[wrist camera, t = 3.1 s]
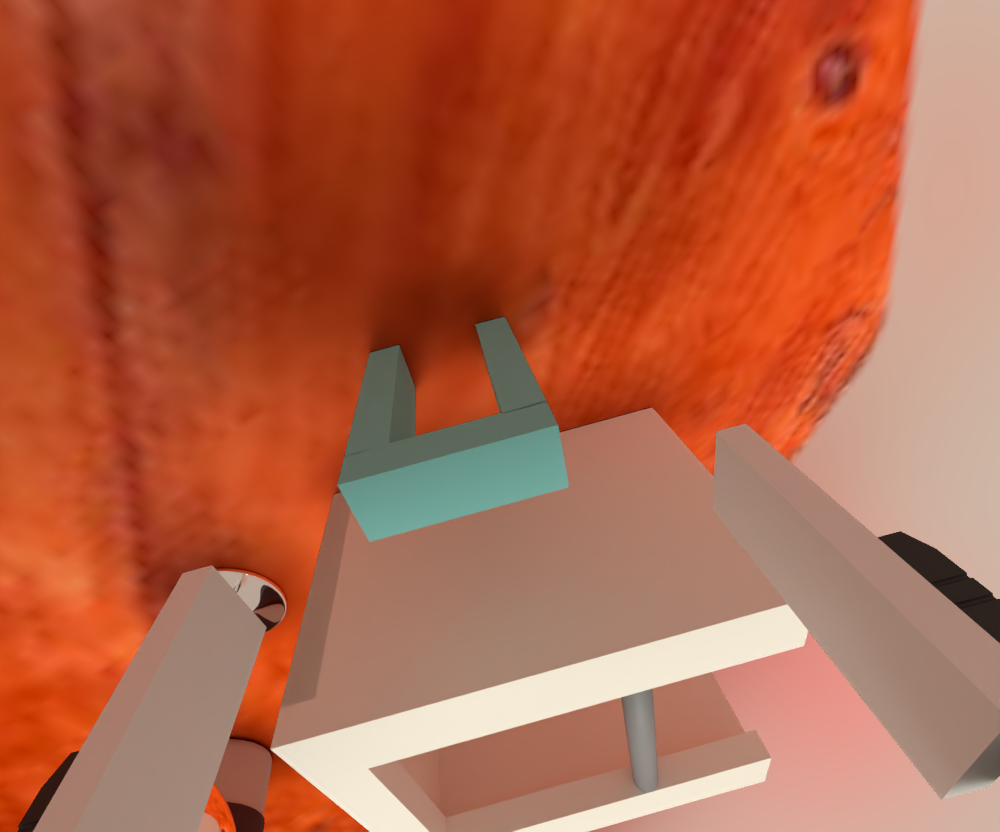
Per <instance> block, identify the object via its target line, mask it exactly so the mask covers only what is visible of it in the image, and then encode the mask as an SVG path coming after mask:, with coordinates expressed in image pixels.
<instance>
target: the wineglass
mask: <svg viewBox="0 0 1000 832" xmlns="http://www.w3.org/2000/svg"><path fill="white" fill-rule="evenodd" d="M216 570H217V571H218V572H219V573H220V575H221V576H222V577H223V578H224V579H225V580H226V581H227V583H228V584H229V585H230V586H231V587H232V588H233V589H234V591H235V592H236V593H237V594H238V595H239V596H240V597H241V599H242V600H243V601H244V602H245V603H246V604H247V605H248V607H249V608H250V609H251V610H252V611H253V612H254V613H255V615H256V616H257V617H258V618H259V619H260V620H261V621H262V623H263V624H264V625H265V626H266V627H267V628H266V631H265V632H267V631H269V630H271V629H272V628H274V627H275V626H277V625H278V624H279V623H280V622H281V620H282V619H283V618H284V616H285V613H286V610H287V600H286V597H285V595H284V593H283V591H282V590H281V589H280V588H279V587H278V586H277V585H276V584H275V583H273V582H272V581H271V580H269V579H267V578H265V577H263V576H261V575H259V574H256V573H253V572H249V571H245V570H239V569H228V568H221V569H216ZM197 832H236V827H235V823H234V820H233V816H232V814H231V811H230V808H229V806H228V804H227V802H226V800H225V798H224V797H223V795H222V793H221V792H220V790H219V789H218V787H217V786H216V785H215V783H214V784H213V787H212V790H211V793H210V796H209V799H208V802H207V805H206V808H205V811H204V814H203V817H202V820H201V823H200V826H199V829H198V831H197Z"/></svg>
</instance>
